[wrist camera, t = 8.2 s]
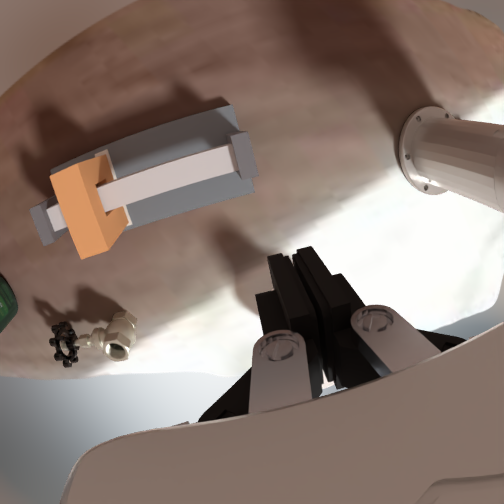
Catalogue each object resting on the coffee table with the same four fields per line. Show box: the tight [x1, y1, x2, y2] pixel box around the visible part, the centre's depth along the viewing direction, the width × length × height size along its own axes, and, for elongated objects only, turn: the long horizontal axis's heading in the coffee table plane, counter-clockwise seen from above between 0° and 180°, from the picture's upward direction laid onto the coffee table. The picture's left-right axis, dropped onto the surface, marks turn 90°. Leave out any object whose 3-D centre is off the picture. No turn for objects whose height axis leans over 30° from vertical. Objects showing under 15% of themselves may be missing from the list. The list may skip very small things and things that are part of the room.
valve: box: [49, 311, 137, 368], centre depth 37 cm, size 7×7×12 cm
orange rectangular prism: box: [50, 154, 129, 259], centre depth 27 cm, size 3×8×8 cm, turn 14°
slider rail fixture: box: [29, 105, 259, 246], centre depth 29 cm, size 22×10×8 cm, turn 104°
